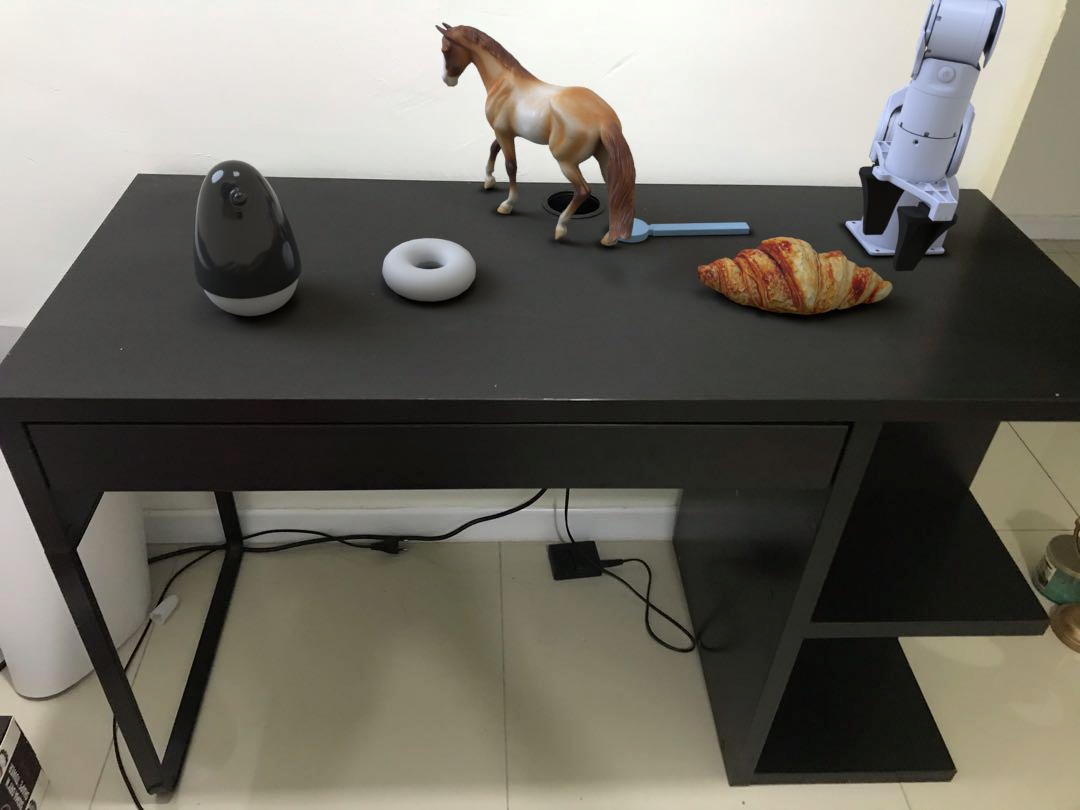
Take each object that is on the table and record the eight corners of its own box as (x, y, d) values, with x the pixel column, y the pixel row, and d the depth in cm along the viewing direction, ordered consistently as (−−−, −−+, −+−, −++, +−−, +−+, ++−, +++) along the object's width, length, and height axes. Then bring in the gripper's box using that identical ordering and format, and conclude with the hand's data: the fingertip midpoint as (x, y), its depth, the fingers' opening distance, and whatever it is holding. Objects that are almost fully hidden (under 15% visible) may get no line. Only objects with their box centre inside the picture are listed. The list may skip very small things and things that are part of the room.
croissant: (869, 314, 104) (878, 243, 102) (907, 323, 94) (918, 244, 93) (686, 303, 103) (692, 231, 101) (705, 310, 93) (712, 231, 92)
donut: (447, 318, 93) (492, 273, 100) (446, 290, 91) (492, 245, 98) (365, 292, 96) (414, 250, 103) (362, 264, 94) (412, 223, 101)
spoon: (741, 222, 113) (742, 214, 112) (752, 240, 109) (754, 232, 109) (606, 224, 111) (607, 217, 110) (613, 243, 107) (614, 235, 106)
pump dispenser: (208, 338, 88) (177, 193, 78) (198, 284, 95) (168, 146, 86) (314, 321, 91) (296, 180, 82) (296, 270, 99) (278, 135, 89)
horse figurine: (434, 188, 116) (430, 20, 103) (479, 172, 120) (481, 9, 107) (617, 287, 99) (640, 101, 86) (662, 263, 104) (690, 84, 91)
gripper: (859, 100, 93) (826, 219, 102) (924, 158, 82) (881, 287, 91) (922, 100, 94) (885, 218, 103) (995, 158, 83) (946, 285, 92)
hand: (887, 251), depth 97 cm, fingers open, 7 cm apart
